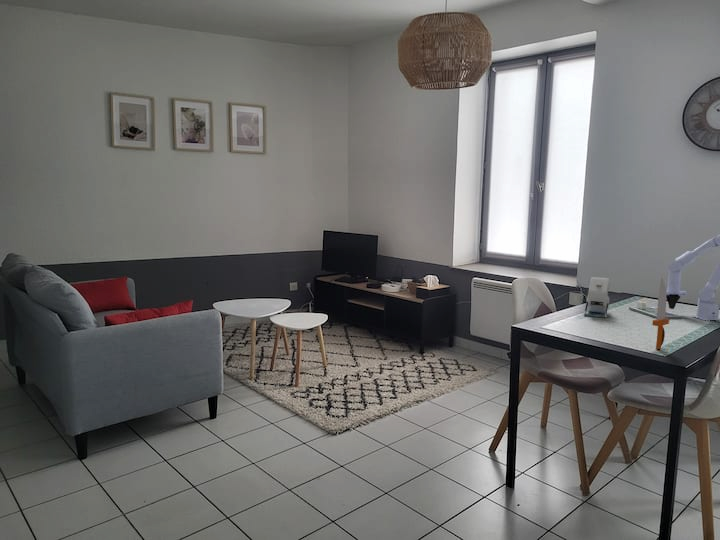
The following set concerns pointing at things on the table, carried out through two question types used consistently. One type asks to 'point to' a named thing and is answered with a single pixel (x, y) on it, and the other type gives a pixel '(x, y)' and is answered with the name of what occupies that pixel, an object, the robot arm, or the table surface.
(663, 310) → the knife
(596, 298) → the robotic device
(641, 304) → the breaker
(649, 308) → the panel
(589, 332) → the table surface
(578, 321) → the table surface
